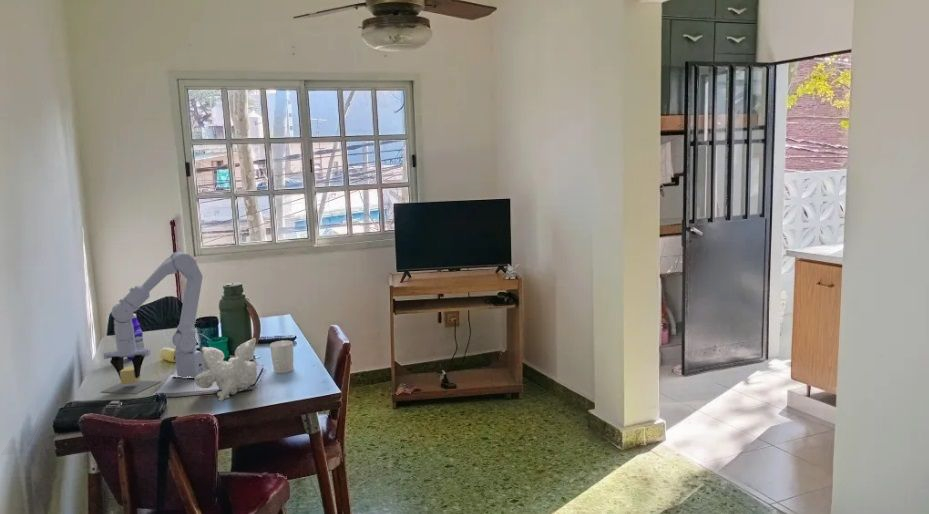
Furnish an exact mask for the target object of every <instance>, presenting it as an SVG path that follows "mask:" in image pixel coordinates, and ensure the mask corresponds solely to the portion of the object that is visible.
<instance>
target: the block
mask: <svg viewBox="0 0 929 514" xmlns="http://www.w3.org/2000/svg"><path fill="white" fill-rule="evenodd" d="M120 378H121V379H120ZM119 379H120V383H121V384H131V383H136V382H137V381H138V380H139V381H141V375H140V376H139V377H138V378H136V377H135V371H134V366H126V367H125V366H124V369H122V370H121V371H120V377H119Z"/></svg>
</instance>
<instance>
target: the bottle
mask: <svg viewBox="0 0 929 514" xmlns="http://www.w3.org/2000/svg"><path fill="white" fill-rule="evenodd" d="M132 324H133V328H134V336H135V344H136V349H145V342H144V335H143V330H142V328H141V327H140V325H141V324H140V322H139V321H138V317H137V313H133V317H132ZM132 358H134V356H133V357H126V359H129V360H132Z"/></svg>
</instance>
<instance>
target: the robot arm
mask: <svg viewBox="0 0 929 514" xmlns="http://www.w3.org/2000/svg"><path fill="white" fill-rule="evenodd" d="M178 272H180V274H182V276H183V277H184V278H185V279H186V280H185V281H186V282H185V288H184V294H183V298H182V299H183V300H182V307H181V312H180V318H179V324H178V325H177V328H176V331H175V333H173V336H172V343H173V345H174V346H175V350H174V359H175V360H174V361H175V369H176V374H177V375H178V376H181V377H187V376H188V377H189V376H191V377H193V378H195V377H196V376H197V375H198V374H200V373H202V372H209V371H208V370H207V364H206V362H205V359H204V357H203V353H204V352H203V351H200V350H197V344H198V343H197V338H196V326H195V325H196V321H197V320H196V319H197V313H198V307H199V302H200V294H201V290H202V288H201V287H202V282H203V274H202V272H201V270H200V268H199V265H198V262H197V260H196V259H195V258H194V257H193V256H192V255H190V254H188V253H185V252H183V251H174V252H173V253H172V254H171V255H170V256H169V257H167V258H166V259H165V260H164V261H162V263H161V264H160V265H159V266H158V267H157V268H156V269H155V270H154V271H153V273H152V274H151V275H150V276H149V277H148V278H147V279H146V280H145V281H144V282H143V284H142V285H136V286H134V287H131V288H129V292H128V293H127V294H126V295H125V296H124V297H123V298H122V299H119V300H118V302H119V303H117V304H115V305H114V306H112V308H111V312H110V315H111V316H112V317H113V318H114V319H113V324H114V327H113V329H114V336H115V337H114V339H115V343H116V345H115V346H116V350H112V351H106V352H103V359H104V360H107V359H110V360H109V362H110V364H111V365H112V366H113V367H114V369H115V371H116V372H117V374H118V376H119V379H120V380H121V378H120V371H121V370H122V369H124V368H125V366H124V365H125V364H124V359H125V358H127V357H133V356H134V358H132V359H131V362H132V367H134V371H135V377H136V378H138V377H139V376H140V377H141V370H142V366H143V362H144V359H145V357H149V356H151V349H150V348H144V349H136V344H135V336H134V328H133V324H132V317H133V314H134V313H135V312H137V310H138V309H140V308H141V306H142V305H144V303H145V302H146V301H147V300H148V299H149V298H150V295H151V294H150V292H151V291H153V289H154V288H155V287H156V286H157V285H158V284H160V282H161V281H163V280H164V279H165V278H166V277H167V276H169V275H173V274H177V273H178Z"/></svg>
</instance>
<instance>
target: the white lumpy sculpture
mask: <svg viewBox="0 0 929 514" xmlns="http://www.w3.org/2000/svg"><path fill="white" fill-rule="evenodd" d="M256 342H257V338H256V337H254V338H251V339H250V340H247V341H245V342H243V343H241V344H240V345H238V346H237V347H236V348H235V351H234V356H235V357H231V358H229V359H228V360H224V359H225V354H224V352H223V351H222V350H221V349H218V348H216V347H212V346H210V347H206V346H202V347H201V352H203V357H204V359H205V363H206V366H207V367H208V368H209V370H210V371H208V372H202V373H200V374H198V375H197V376H196V377H195V378H194V381H195V383H196V386H197V387H199V388H201V389H209V388H211V387H212V386H213V384H214V383H215V382H216V386H217V387H218V389H219V390H220V391H217V394H216V395H217V397H218V400H217V401H221V402H222V401H224V400H225V399H227V400H228V399H229V398H230V395H232V396H234V395H236V394H237V392H241V391H244V390H247V389H248V388H249V387H251V386H250V385H252V386H254V385H256V382H257V378H258V377H257V376H258V372H257V371H258V370H257V369H258V368H257V365H256V362H254V361H250V360H251V359H252V357H253V356H254V353H255V350H256ZM253 384H254V385H253ZM221 390H222V391H221Z"/></svg>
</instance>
